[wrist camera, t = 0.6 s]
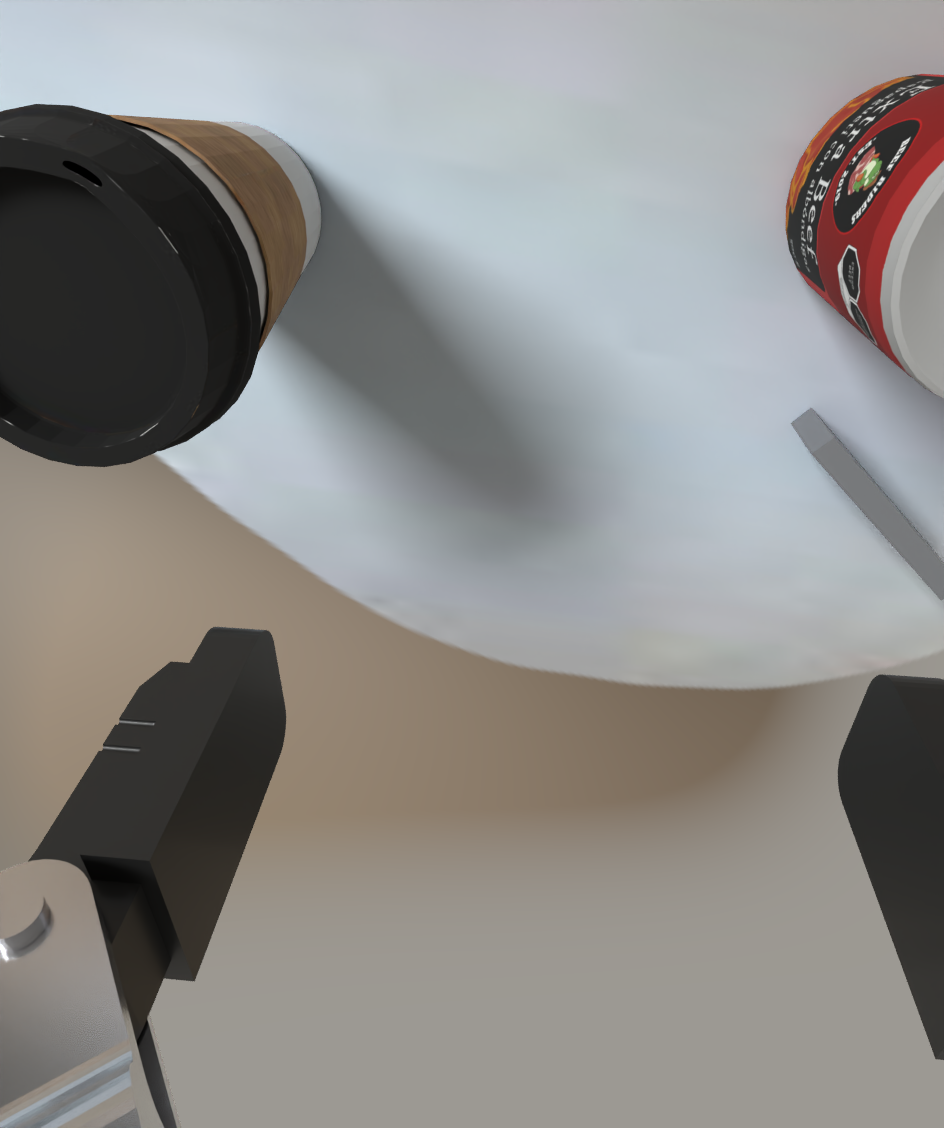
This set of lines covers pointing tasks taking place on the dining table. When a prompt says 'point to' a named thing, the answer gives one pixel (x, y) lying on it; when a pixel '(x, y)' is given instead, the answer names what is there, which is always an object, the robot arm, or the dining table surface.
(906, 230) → the canned food
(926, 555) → the lane rails
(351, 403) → the dining table surface
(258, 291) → the coffee cup
